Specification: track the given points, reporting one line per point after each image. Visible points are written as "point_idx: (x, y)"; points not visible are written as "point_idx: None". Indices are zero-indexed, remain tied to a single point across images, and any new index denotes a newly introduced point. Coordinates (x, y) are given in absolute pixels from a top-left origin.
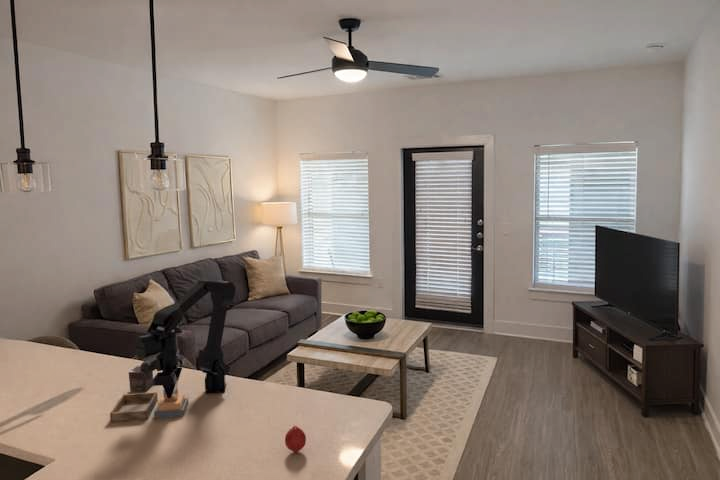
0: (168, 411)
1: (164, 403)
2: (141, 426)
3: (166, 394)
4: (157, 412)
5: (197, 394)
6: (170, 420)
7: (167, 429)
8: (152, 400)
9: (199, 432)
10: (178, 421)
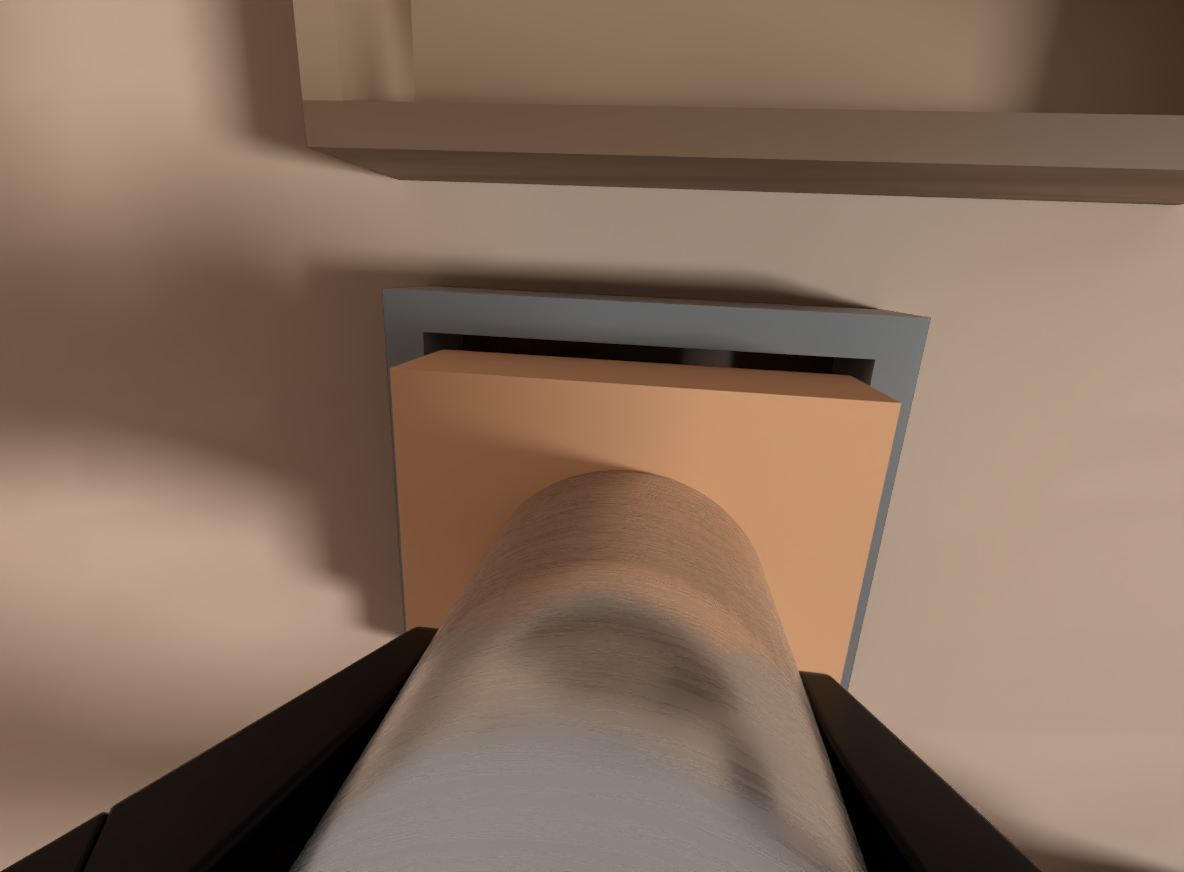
0: (397, 519)
1: (447, 497)
2: (196, 134)
3: (319, 689)
4: (387, 349)
5: (1090, 791)
6: (344, 511)
7: (128, 501)
8: (833, 160)
9: (88, 782)
10: (311, 601)
